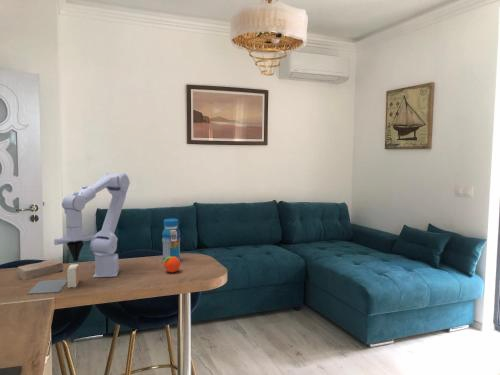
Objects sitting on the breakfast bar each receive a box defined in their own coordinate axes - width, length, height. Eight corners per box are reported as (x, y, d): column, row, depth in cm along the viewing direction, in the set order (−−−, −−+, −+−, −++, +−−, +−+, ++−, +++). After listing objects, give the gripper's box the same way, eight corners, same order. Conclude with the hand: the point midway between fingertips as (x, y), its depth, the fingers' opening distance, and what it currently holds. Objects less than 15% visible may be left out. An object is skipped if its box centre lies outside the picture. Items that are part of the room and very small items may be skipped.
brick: (24, 280, 170) (23, 269, 170) (15, 276, 176) (15, 265, 175) (64, 272, 183) (63, 261, 183) (54, 268, 188) (54, 258, 188)
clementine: (167, 275, 177) (167, 259, 176) (159, 272, 182) (158, 256, 181) (183, 272, 182) (183, 256, 182) (175, 268, 187) (174, 253, 187)
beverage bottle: (159, 262, 197) (159, 220, 195) (166, 258, 206) (165, 217, 204) (176, 263, 196) (176, 221, 194) (182, 258, 204) (182, 218, 202)
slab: (79, 281, 170) (78, 264, 169) (76, 287, 162) (75, 269, 161) (71, 281, 169) (70, 264, 168) (67, 288, 161) (67, 270, 161)
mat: (68, 280, 170) (68, 279, 170) (59, 292, 156) (59, 291, 156) (40, 281, 168) (39, 280, 168) (27, 294, 154) (27, 293, 154)
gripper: (90, 222, 169) (91, 255, 170) (51, 226, 160) (53, 261, 162) (95, 225, 164) (96, 259, 165) (56, 229, 155) (57, 265, 156)
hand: (75, 260), depth 163 cm, fingers closed
